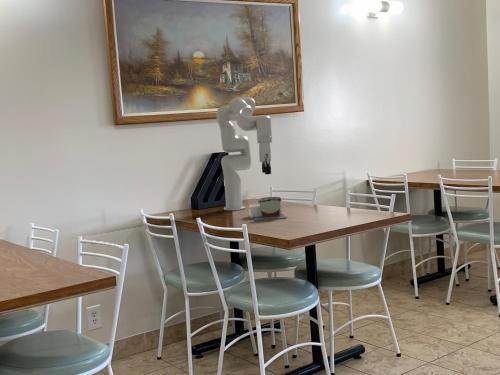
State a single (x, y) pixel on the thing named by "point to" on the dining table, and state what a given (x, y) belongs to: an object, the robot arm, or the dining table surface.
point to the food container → (270, 206)
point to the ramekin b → (280, 209)
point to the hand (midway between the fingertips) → (266, 173)
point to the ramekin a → (254, 211)
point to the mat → (269, 218)
